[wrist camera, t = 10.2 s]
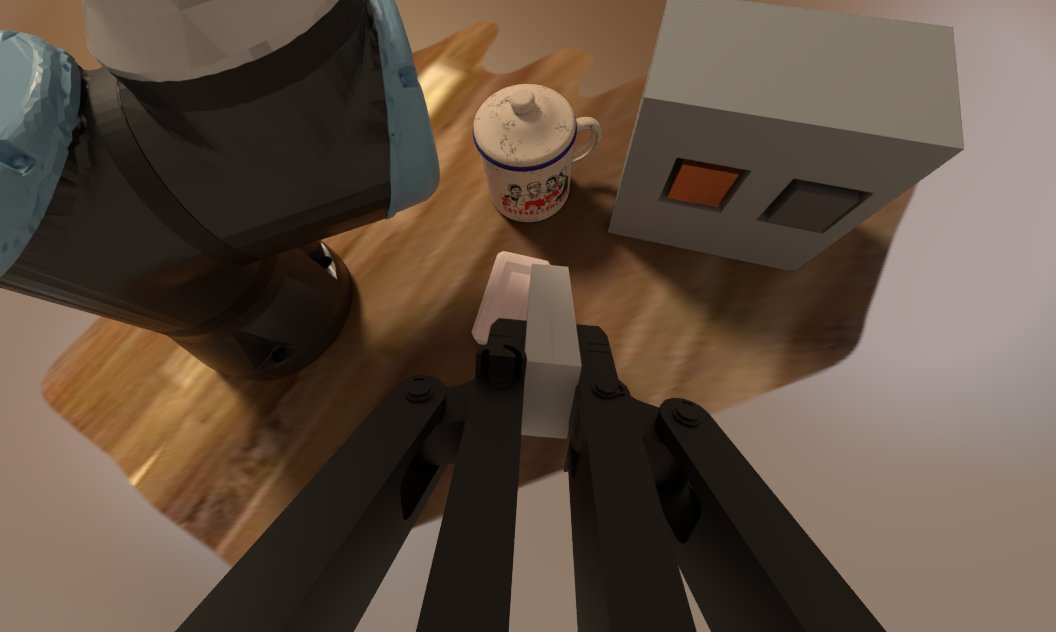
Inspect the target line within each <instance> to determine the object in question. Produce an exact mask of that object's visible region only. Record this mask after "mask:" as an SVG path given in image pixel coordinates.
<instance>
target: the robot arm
mask: <svg viewBox="0 0 1056 632" xmlns="http://www.w3.org/2000/svg"><path fill="white" fill-rule="evenodd" d="M81 1H82V11H83V21H84V31H85V40H86V44H87V47H88V49H89V51H90V53H91V55H92V56H93V57H94V58H95V59H96V60H97V61H98V62H99V63H100V64H101V65H102V66H103V67H102V68H99V69H95V70H91V71H89V70H84V69H82V68H81V67H80V66H79V65H78V64H77V63H76V62H75V59H74V58H73V57H72V56H71V55H70V54H68V53H67V52H66V51H65V50H63V49H60V48H56V47H54V46H53V45H51V44H49V43H47V42H46V41H44V40H43V39H41V38H40V37H37V36H35V35H31V34H27V33H20V32H15V31H5V30H2V31H0V288H4V289H7V290H10V291H14V292H18V293H22V294H25V295H28V296H32V297H35V298H39V299H42V300H46V301H50V302H53V303H56V304H60V305H63V306H67V307H70V308H74V309H78V310H81V311H85V312H88V313H92V314H95V315H99V316H102V317H106V318H109V319H113V320H116V321H119V322H123V323H126V324H130V325H133V326H137V327H140V328H144V329H147V330H151V331H155V332H158V333H161V334H164V335H167V336H169V337H170V338H171V339H172V340H174V341H175V342H176V343H178V344H179V345H180V346H182V347H183V348H184V349H185V350H187V351H188V352H189V353H191V354H192V355H193V356H194V357H196V358H197V359H198V360H200V361H201V362H202V363H204V364H205V365H207V366H208V367H210V368H212V369H214V370H216V371H218V372H221V373H224V374H228V375H232V376H236V377H240V378H245V379H251V380H267V379H274V378H279V377H282V376H286V375H288V374H291V373H293V372H296V371H298V370H300V369H302V368H303V367H305V366H307V365H308V364H310V363H311V362H313V361H314V360H315V359H317V358H318V357H319V356H320V355H321V354H322V353H323V352H324V351H325V350H326V349H327V348H328V347H329V346H330V345H331V344H332V343H333V341H334V340H335V339H336V337H337V336H338V334H339V333H340V331H341V329H342V327H343V325H344V323H345V321H346V319H347V316H348V313H349V309H350V304H351V297H352V288H351V280H350V276H349V273H348V270H347V268H346V266H345V264H344V263H343V261H342V260H341V258H340V257H339V256H338V255H337V254H336V253H335V252H334V251H333V250H332V249H331V248H330V247H328V246H327V245H326V244H325V243H324V242H323V241H321V240H322V239H325V238H328V237H331V236H334V235H337V234H340V233H343V232H346V231H349V230H352V229H355V228H358V227H361V226H364V225H367V224H370V223H373V222H376V221H379V220H382V219H386V220H387V219H390V218H392V217H393V216H394V215H395V214H396V213H397V212H400V211H402V210H405V209H407V208H409V207H412V206H414V205H416V204H419V203H421V202H424V201H426V200H427V199H428V198H430V197H431V196H432V194H433V193H434V192H435V191H436V189H437V187H438V184H439V180H440V169H439V161H438V155H437V150H436V145H435V140H434V135H433V131H432V127H431V122H430V118H429V114H428V110H427V106H426V102H425V99H424V95H423V91H422V88H421V86H420V83H419V82H418V80H417V71H416V68H415V65H414V61H413V56H412V51H411V48H410V44H409V41H408V38H407V35H406V31H405V28H404V25H403V22H402V19H401V16H400V14H399V11H398V8H397V5H396V3H395V1H394V0H81ZM568 431H569V434H570V443H569V448H568V452H567V457H566V462H565V467H564V472H568V473H569V491H570V507H571V524H572V541H573V558H574V574H575V591H576V608H577V625H578V632H696V628H695V624H694V621H693V617H692V614H691V610H690V607H689V603H688V599H687V596H686V592H685V589H684V585H683V581H682V578H681V574H680V571H679V568H680V570H681V572H682V574H683V576H684V578H685V580H686V582H687V584H688V586H689V588H690V590H691V592H692V594H693V596H694V598H695V600H696V602H697V604H698V606H699V608H700V610H701V612H702V614H703V616H704V619H705V621H706V622H707V625H708V627H709V629H710V630H711V632H886V630H885V629H884V628H883V627H882V626H881V624H880V623H879V622H878V621H877V620H876V618H874V616H873V615H872V613H871V612H870V611H869V610H868V608H866V606H865V605H864V604H863V602H862V601H861V600H860V599H859V597H858V596H857V595H856V594H855V592H854V591H853V590H852V589H851V588H850V586H849V585H848V584H847V583H846V581H845V580H844V579H843V578H842V576H841V575H840V574H839V573H838V572H837V570H836V569H835V568H834V567H833V565H832V564H831V563H830V562H829V561H828V559H827V558H826V557H825V556H824V554H823V553H822V552H821V551H820V549H819V548H818V547H817V546H816V545H815V543H814V542H813V541H812V540H811V538H810V537H809V536H808V535H807V534H806V533H805V531H804V530H803V529H802V527H801V526H800V525H799V524H798V523H797V521H796V520H795V519H794V518H793V516H792V515H791V514H790V513H789V511H788V510H787V509H786V508H785V506H784V505H783V504H782V503H781V502H780V500H779V499H778V498H777V497H776V495H775V494H774V493H773V492H772V491H771V489H770V488H769V487H768V486H767V485H766V483H765V482H764V481H763V480H762V478H761V477H760V476H759V475H758V473H757V472H756V471H755V470H754V469H753V467H752V466H751V465H750V464H749V462H748V461H747V460H746V459H745V457H744V456H743V455H742V454H741V453H740V451H739V450H738V449H737V448H736V446H735V445H734V444H733V443H732V441H731V440H730V439H729V438H728V437H727V435H726V434H725V433H724V432H723V431H722V429H721V428H720V427H719V426H718V424H717V423H716V422H715V421H714V420H713V418H712V417H711V416H710V414H709V413H708V412H707V411H705V410H704V409H703V408H702V407H701V406H699V405H697V404H695V403H694V402H692V401H688V400H685V399H681V398H671V399H667V400H665V401H664V402H663V403H662V404H661V405H660V408H659V407H656V406H653V405H650V404H647V403H644V402H641V401H639V400H636V399H635V398H633V397H631V395H630V392H629V390H628V388H627V387H626V386H625V385H624V384H623V383H622V382H621V381H620V380H618V376H617V372H616V368H615V364H614V360H613V357H612V354H611V349H610V346H609V341H608V337H607V335H606V334H605V332H604V331H603V330H602V329H601V328H600V327H599V326H588V325H578V324H576V321H575V314H574V306H573V299H572V291H571V284H570V277H569V269H568V267H563V266H553V265H543V264H533V263H532V266H531V276H530V285H529V295H528V305H527V315H526V320H516V319H505V318H498V319H497V320H496V321H495V322H494V323H493V324H492V325H491V327H490V332H489V336H488V340H487V344H485V345H484V346H482V347H480V348H479V350H478V351H477V353H476V378H475V379H473V380H472V381H470V382H468V383H466V384H464V385H459V386H454V387H446V388H445V385H444V384H443V383H442V382H441V381H440V380H439V379H437V378H434V377H432V376H424V375H421V376H413V377H410V378H408V379H405V380H403V381H402V382H400V383H399V384H398V385H396V386H395V388H394V389H393V390H392V391H391V392H390V393H389V394H388V395H387V396H386V398H385V399H384V400H383V401H382V402H381V403H380V404H379V405H378V406H377V408H376V409H375V410H374V411H373V412H372V413H371V414H370V415H369V416H368V418H367V419H366V420H365V421H364V422H363V423H362V424H361V425H360V426H359V428H358V429H357V430H356V431H355V432H354V433H353V434H352V435H351V436H350V438H349V439H348V440H347V441H346V442H345V443H344V444H343V445H342V446H341V448H340V449H339V450H338V451H337V452H336V453H335V454H334V455H333V456H332V458H331V459H330V460H329V461H328V462H327V463H326V464H325V465H324V466H323V468H322V469H321V470H320V471H319V472H318V473H317V474H316V475H315V476H314V478H313V479H312V480H311V481H310V482H309V483H308V484H307V485H306V486H305V488H304V489H303V490H302V491H301V492H300V493H299V494H298V495H297V496H296V498H295V499H294V500H293V501H292V502H291V503H290V504H289V505H288V506H287V508H286V509H285V510H284V511H283V512H282V513H281V514H280V515H279V516H278V518H277V519H276V520H275V521H274V522H273V523H272V524H271V525H270V526H269V528H268V529H267V530H266V531H265V532H264V533H263V534H262V535H261V536H260V538H259V539H258V540H257V541H256V542H255V543H254V544H253V545H252V546H251V548H250V549H249V550H248V551H247V552H246V553H245V554H244V555H243V556H242V558H241V559H240V560H239V561H238V562H237V563H236V564H235V565H234V566H233V568H232V569H231V570H230V571H229V572H228V573H227V574H226V575H225V576H224V578H223V579H222V580H221V581H220V582H219V583H218V584H217V585H216V587H215V588H214V589H213V590H212V591H211V592H210V593H209V594H208V596H207V597H206V598H205V599H204V600H203V601H202V602H201V603H200V604H199V605H198V607H197V608H196V609H195V610H194V611H193V612H192V613H191V614H190V615H189V617H188V618H187V619H186V620H185V621H184V622H183V623H182V624H181V625H180V627H179V628H178V629H177V630H176V631H175V632H354V630H355V628H356V627H357V625H358V623H359V621H360V620H361V618H362V616H363V614H364V612H365V611H366V609H367V607H368V605H369V604H370V601H371V600H372V598H373V596H374V595H375V593H376V591H377V589H378V588H379V586H380V584H381V582H382V580H383V578H384V577H385V575H386V573H387V571H388V570H389V568H390V566H391V564H392V563H393V561H394V559H395V557H396V556H397V554H398V552H399V550H400V548H401V547H402V545H403V543H404V541H405V539H406V538H407V536H408V534H409V532H410V531H411V529H412V527H413V525H414V524H415V522H416V520H417V518H418V516H419V515H420V513H421V511H422V509H423V507H424V506H425V504H426V502H427V500H428V499H429V497H430V495H431V493H432V491H433V490H434V488H435V486H436V484H437V483H438V481H439V479H440V477H441V475H442V474H443V472H444V470H445V468H446V465H447V464H449V463H454V462H456V464H455V468H454V472H453V476H452V481H451V485H450V489H449V493H448V498H447V502H446V506H445V510H444V515H443V519H442V523H441V527H440V532H439V536H438V540H437V545H436V549H435V553H434V558H433V561H432V566H431V570H430V574H429V578H428V583H427V587H426V591H425V596H424V600H423V604H422V608H421V613H420V617H419V621H418V625H417V629H416V632H509V616H510V601H511V585H512V570H513V554H514V538H515V522H516V507H517V492H518V476H519V461H520V445H521V435H529V436H539V437H550V438H561V439H567V436H568ZM678 566H679V567H678Z"/></svg>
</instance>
